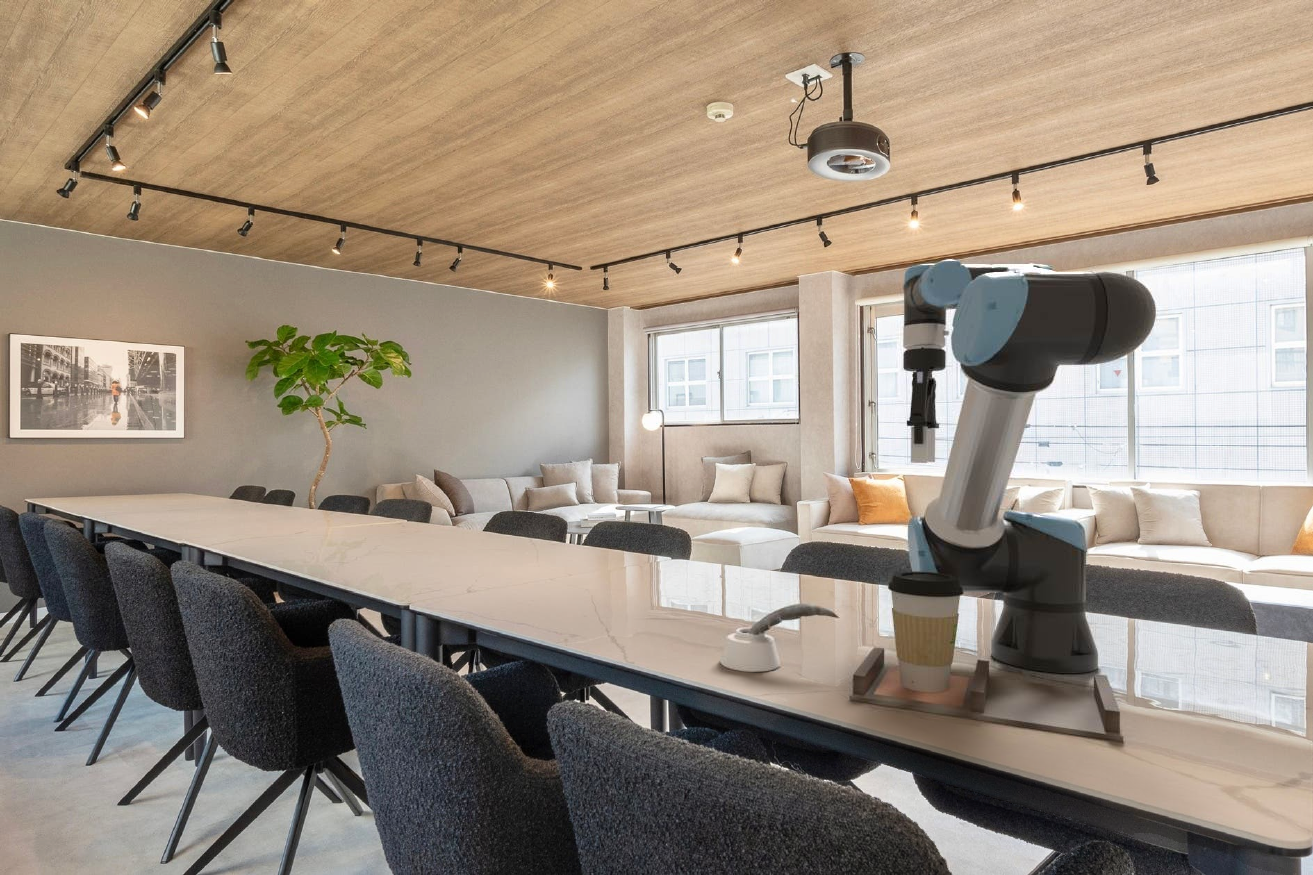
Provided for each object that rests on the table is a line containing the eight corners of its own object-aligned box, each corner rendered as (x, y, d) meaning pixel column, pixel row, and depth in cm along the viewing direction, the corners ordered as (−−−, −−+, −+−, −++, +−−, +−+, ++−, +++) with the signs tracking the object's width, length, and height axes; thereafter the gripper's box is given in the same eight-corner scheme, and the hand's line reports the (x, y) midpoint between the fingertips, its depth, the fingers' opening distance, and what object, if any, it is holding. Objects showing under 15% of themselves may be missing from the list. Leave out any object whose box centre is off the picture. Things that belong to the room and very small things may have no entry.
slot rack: (849, 699, 101) (849, 676, 101) (873, 665, 118) (873, 645, 118) (1123, 741, 88) (1123, 714, 88) (1107, 696, 104) (1107, 673, 104)
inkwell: (727, 653, 124) (728, 591, 124) (842, 665, 118) (843, 599, 118) (713, 668, 115) (714, 601, 115) (836, 682, 109) (836, 611, 109)
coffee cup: (974, 685, 106) (974, 576, 106) (945, 702, 99) (946, 585, 99) (906, 670, 113) (907, 568, 113) (874, 685, 106) (875, 575, 106)
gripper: (939, 339, 132) (937, 463, 132) (951, 356, 154) (950, 461, 154) (893, 341, 135) (892, 462, 135) (912, 357, 158) (911, 461, 157)
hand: (923, 462), depth 144 cm, fingers open, 13 cm apart
